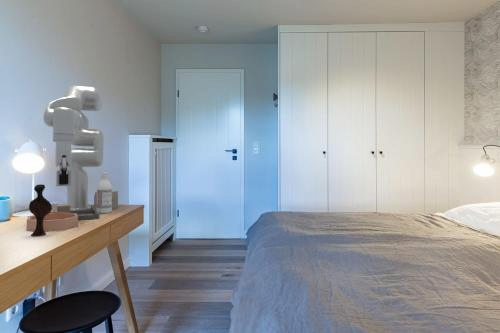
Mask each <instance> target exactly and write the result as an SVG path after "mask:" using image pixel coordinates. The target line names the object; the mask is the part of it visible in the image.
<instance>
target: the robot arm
mask: <svg viewBox="0 0 500 333" xmlns="http://www.w3.org/2000/svg"><path fill="white" fill-rule="evenodd" d="M102 102H103V101H102V99H101V93H100V92H99V89H97V88H96V87H94V86H87V85H86V86H85V85H75V84H74V85H70V86H69V87H67V89H66V91H65V93H64V95H63V97H60V98H58V99H55V100H53V101H51V102H49V103H48V104H47V106H46V107H45V110H44V113H43V121H44V123H45V125H46V126H48V127H51V128H52V142H53V143H55V162H54V163H55V167H59V170H60V174H59V184H60V185H63V184H68V170H71V186H66V204H70V211H76V210H92V206H91V205H89V203H88V202H89V195H88V194H89V175H88V172H86V170H85V169H84V168H97V167H101V166H102V165H103V164H104V143H105V142H104V134H103V132H102V130H101V129H98V128H89V125H90V124H89V123H90V122H89V121H90V120H89V118H88V116H86V115H85V114H84V113H83V111H84V112H85V111H86V112H99V111H100V110H101V108H102ZM72 146H74V147H73V148H72ZM76 147H77V148H76ZM79 147H81V148H79ZM84 147H88V148H84ZM89 147H90V148H89ZM61 171H62V172H61Z"/></svg>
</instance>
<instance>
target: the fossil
mask: <svg viewBox="0 0 500 333" xmlns="http://www.w3.org/2000/svg"><path fill="white" fill-rule="evenodd" d="M117 208H118V209H119V191H118V190H112V210H117ZM93 209H96V211H97V191H95V192H94V197H93Z"/></svg>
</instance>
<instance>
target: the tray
mask: <svg viewBox="0 0 500 333" xmlns="http://www.w3.org/2000/svg"><path fill="white" fill-rule="evenodd" d="M50 213H57V211H51V212H50ZM70 213H77V215H78V221H87V220H88V221H89V220H99V219H100V213H98V212H97V211H96V209H94V208H93V209H89V210H76V211H70Z"/></svg>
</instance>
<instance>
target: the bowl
mask: <svg viewBox="0 0 500 333" xmlns="http://www.w3.org/2000/svg"><path fill="white" fill-rule="evenodd" d="M78 226H79V220H78V215H77V213H66V212H59V213H49V214H48V215H46V216H45V217H44V220H43V229H44V231H45V232H46V233H47V232H55V231H56V232H57V231H66V230H69V229H72V228H76V227H78ZM35 229H36V217H35V215H34V214H32V215H29V216H27V217H26V231H31V232H34V231H35Z"/></svg>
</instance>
